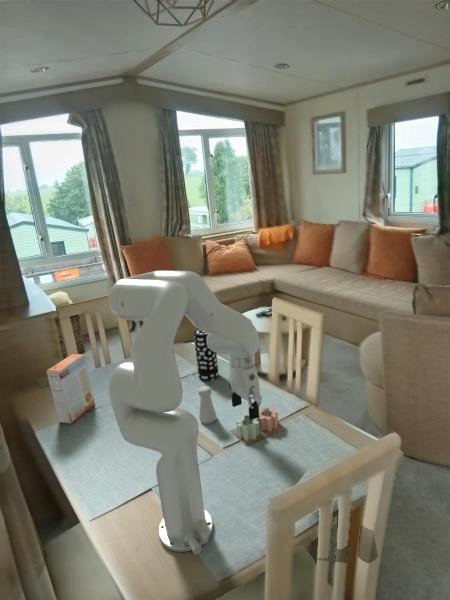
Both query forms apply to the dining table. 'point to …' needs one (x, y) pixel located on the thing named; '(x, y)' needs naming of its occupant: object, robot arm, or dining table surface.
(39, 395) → the dining table surface
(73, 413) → the cracker box
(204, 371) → the white-spotted black cylinder
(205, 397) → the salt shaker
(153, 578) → the dining table surface
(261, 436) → the gear board
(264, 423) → the terracotta gear
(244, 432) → the green gear
